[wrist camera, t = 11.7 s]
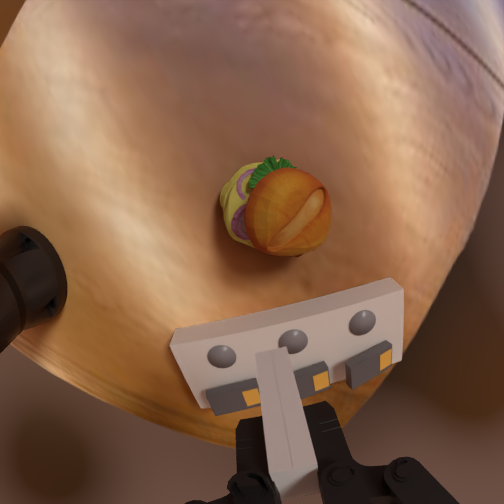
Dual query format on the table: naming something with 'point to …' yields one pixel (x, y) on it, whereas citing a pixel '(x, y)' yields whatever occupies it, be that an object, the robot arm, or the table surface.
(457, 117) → the table surface
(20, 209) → the table surface
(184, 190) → the table surface
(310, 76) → the table surface
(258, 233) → the cheeseburger
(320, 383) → the rocker middle
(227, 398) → the rocker left
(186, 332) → the rocker switch panel
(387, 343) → the rocker right
